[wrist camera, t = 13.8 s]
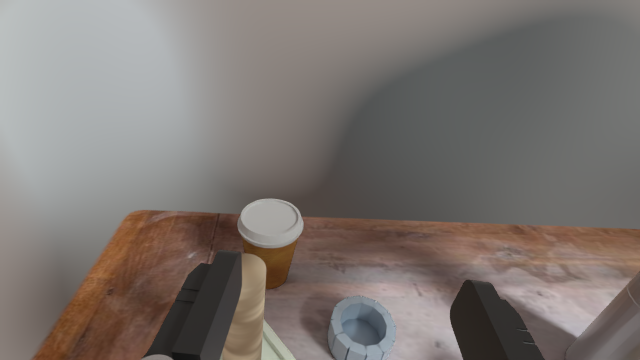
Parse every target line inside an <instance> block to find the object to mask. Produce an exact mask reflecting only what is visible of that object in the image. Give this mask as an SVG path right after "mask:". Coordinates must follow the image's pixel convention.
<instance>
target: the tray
mask: <svg viewBox="0 0 640 360" xmlns="http://www.w3.org/2000/svg"><path fill="white" fill-rule="evenodd" d="M220 360H223V359H222V354H221V357H220ZM261 360H296V359H295V357H294V356H293V355H292V354H291V352H290V351H289V350H288V349H287V347H286V346H285V345H284V344H283V342H282V341H281V340H280V339H279V337H278V336H277V335H276V334H275V332H274V331H273V330H272V328H271V327H270V326H269V325H268V323H267V322H266V321H265V320H263V337H262V354H261Z"/></svg>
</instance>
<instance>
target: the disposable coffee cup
mask: <svg viewBox="0 0 640 360" xmlns="http://www.w3.org/2000/svg"><path fill="white" fill-rule="evenodd" d="M237 226H238V230H239V232H240V234H241V236H242V240H243V246H244V252H245V253H248V254H253V255H256V256H258V257H259V258H261V259H262V260H263V261H264V263H265V265H266V285H265V289H273V288H277V287H279V286H280V285H282V284H283V283H284V282H285V280H286V279H287V276H288V272H289V268H290V264H291V261H292V257H293V254H294V250H295V246H296V243H297V239H298V236H299V235H300V234H301V232H302V230H303V220H302V218H301V215H300V212H299V211H298V209H297V208H296V207H295V206H293V205H292V204H290V203H288V202H286V201H283V200H278V199H261V200H257V201H255V202H252V203H250V204H248V205H247V206H246V207H245V208H244V209H243V211H242V213H241V215H240V217H239V219H238V222H237Z"/></svg>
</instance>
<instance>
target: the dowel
mask: <svg viewBox="0 0 640 360" xmlns="http://www.w3.org/2000/svg"><path fill="white" fill-rule="evenodd" d="M241 254H242V288H241V293H240V297H239V301H238V304H237V307H236V310H235V313H234V316H233V320H232V323H231V326H230V329H229V332H228V335H227V338H226V341H225V345H224V348H223V351H222V359H223V360H261V354H262V337H263V320H264V302H265V285H266V265H265V263H264V261H263V260H262V259H261V258H259V257H258V256H256V255H253V254H248V253H241Z"/></svg>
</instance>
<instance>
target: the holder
mask: <svg viewBox="0 0 640 360" xmlns="http://www.w3.org/2000/svg"><path fill="white" fill-rule="evenodd" d="M375 301H376V300H373V299H370V298H367V297H364V296H362V297H361V296H353V297H347V299H346V298H344V299H343V300H342V301H340V302H339V303H338V304H336V306H335V307H334V310H333V314H332V317H331V320H330V325H329V329H328V335H327V336H328V345H329V348H330V351H331V353H332V355H333V356H334V358H335V359H336V360H386V359H387V358H388V356H389V354H390V352H391V349H392V347H393V344H394V342H395V335H396V325H395V323H394V321H393V319H392V317H391V314H390V313H388V310H387V309H385V308H384V307H383V306H382V305H381V304H380V303H379V302H376V303H375Z"/></svg>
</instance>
